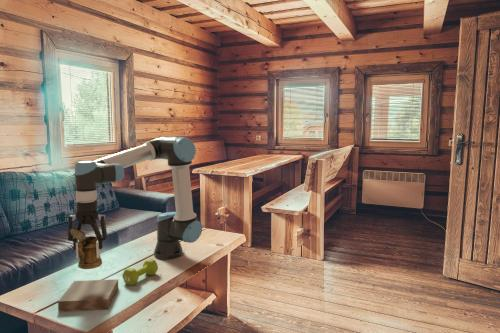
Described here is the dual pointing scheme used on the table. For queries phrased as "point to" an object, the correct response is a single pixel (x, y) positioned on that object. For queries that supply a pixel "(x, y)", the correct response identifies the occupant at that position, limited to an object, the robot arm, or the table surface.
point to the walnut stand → (88, 295)
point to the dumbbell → (140, 272)
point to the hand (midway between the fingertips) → (88, 257)
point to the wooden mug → (86, 250)
